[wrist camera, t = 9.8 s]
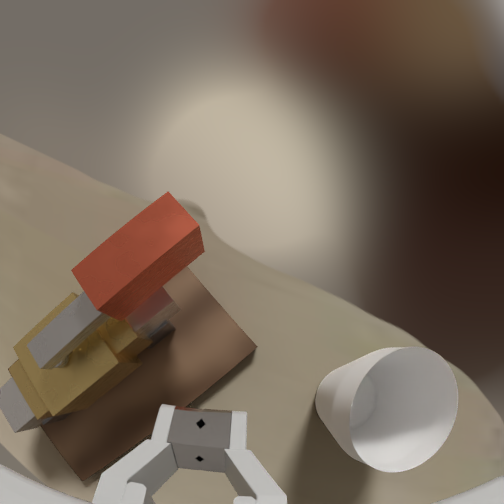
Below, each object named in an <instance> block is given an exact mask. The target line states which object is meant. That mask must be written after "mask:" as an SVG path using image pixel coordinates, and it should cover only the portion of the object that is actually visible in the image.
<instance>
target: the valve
mask: <svg viewBox="0 0 504 504" xmlns="http://www.w3.org/2000/svg"><path fill="white" fill-rule="evenodd" d="M78 296H79V295H77V294H75V293H71V294H70V295H69V296H68V297H67V298H66V299H65V300H64V301H62V302H61V303H60V304H59V305H58V306H57V307H56V308H55V309H53V310H52V311H51V312H50V313H49V314H48V315H47V316H46V317H45V318H44V319H43V320H41V321H40V322H39V323H38V324H37V325H36V326H35V327H34V328H33V329H32V330H31V331H30V332H29V333H28V334H27V335H25V336H24V337H23V338H22V339H21V340H20V341H19V342H18V343H17V344H16V345H15V346H14V347H13V348H14V350H15V352H16V354H17V356H18V358H19V359H18V360H17V361H16V362H15V363H14V364H13V365H12V366H11V367H10V368H9V371H10V373H11V375H12V378H11V379H10V380H9V381H8V382H7V383H6V384H5V385H3V386H2V387H1V388H0V408H1V410H2V412H3V414H4V415H5V417H6V419H7V421H8V422H9V424H10V426H11V427H12V429H13V431H14V432H15V433H16V432H21V431H25V430H30V429H34V428H37V427H39V426H40V425H41V424H42V423H43V425H46V424H50V423H54V422H58V421H62V420H64V419H65V418H66V417H67V416H69V415H70V414H71V413H72V412H75V411H79V410H83V409H87V408H88V407H89V406H91V405H92V404H93V403H94V402H96V401H97V400H98V399H99V398H101V397H102V396H103V395H104V394H106V393H107V392H108V391H109V390H111V389H112V388H113V387H114V386H116V385H117V384H118V383H119V382H121V381H122V380H123V379H124V378H126V377H127V376H128V375H129V374H131V373H132V372H133V371H134V370H135V369H137V368H138V367H139V366H140V365H142V364H143V363H142V362H141V361H140V359H139V358H138V357H137V355H138V354H139V353H140V352H142V351H143V350H144V349H145V348H150V349H151V348H153V347H154V346H155V345H156V344H158V343H159V342H160V341H161V340H162V339H164V338H165V337H166V336H167V335H169V334H170V333H171V332H172V331H173V330H175V329H176V328H175V327H174V325H173V324H172V323H171V322H170V320H169V319H170V318H171V317H173V316H174V315H175V314H176V313H177V312H179V311H180V310H181V309H180V308H179V306H178V305H177V304H176V303H175V301H174V300H173V299H172V298H171V296H170V295H169V294H168V293H167V291H166V290H165V289H164V288H163V286H162V287H161V288H160V289H159V290H158V291H156V292H155V293H154V294H153V295H152V296H151V297H149V298H148V299H147V300H146V301H145V302H143V303H142V304H141V305H140V306H139V307H138V308H136V309H135V310H134V311H133V312H132V313H131V314H129V315H128V316H127V317H126V318H125V319H124V320H122V321H119V320H117V319H115V318H113V317H110V318H109V319H108V320H107V321H106V322H104V323H103V324H102V325H101V326H100V327H99V328H98V329H96V330H95V331H94V332H93V333H92V334H91V335H90V336H89V337H87V338H86V339H85V340H84V341H83V342H82V343H81V344H80V345H78V346H77V347H76V348H75V349H74V350H73V351H72V352H71V353H70V354H69V359H68V362H67V364H66V365H65V366H64V367H62V368H53V369H52V370H51V369H40V368H39V366H38V364H37V363H36V361H35V359H34V357H33V356H32V354H31V352H30V350H29V348H28V347H27V344H28V343H29V342H30V341H31V340H32V339H33V338H34V337H35V336H36V335H37V334H38V333H39V332H41V331H42V330H43V329H44V328H45V327H46V326H47V325H48V324H49V323H50V322H51V321H52V320H53V319H54V318H55V317H56V316H57V315H59V314H60V313H61V312H62V311H63V310H64V309H65V308H66V307H67V306H68V305H69V304H70V303H72V302H73V301H74V300H75V299H76V298H77V297H78Z"/></svg>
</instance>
